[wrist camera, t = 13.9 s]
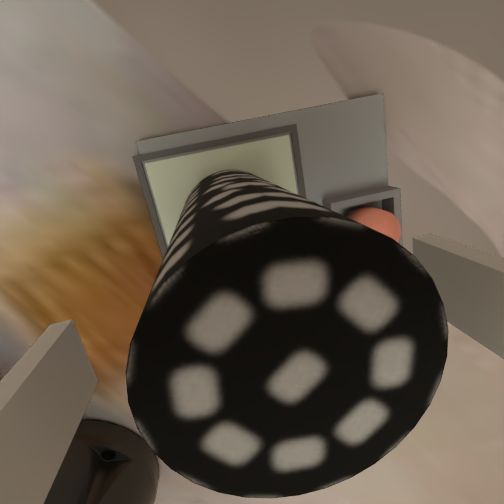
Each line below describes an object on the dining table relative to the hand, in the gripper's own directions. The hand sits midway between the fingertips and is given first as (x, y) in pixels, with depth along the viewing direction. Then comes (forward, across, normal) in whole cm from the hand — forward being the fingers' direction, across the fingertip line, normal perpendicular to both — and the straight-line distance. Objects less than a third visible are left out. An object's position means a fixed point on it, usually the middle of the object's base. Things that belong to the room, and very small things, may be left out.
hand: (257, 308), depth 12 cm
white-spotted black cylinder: (+16, +1, 0) cm, 16 cm away
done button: (+14, +12, -3) cm, 19 cm away
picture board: (+17, +5, 0) cm, 17 cm away
